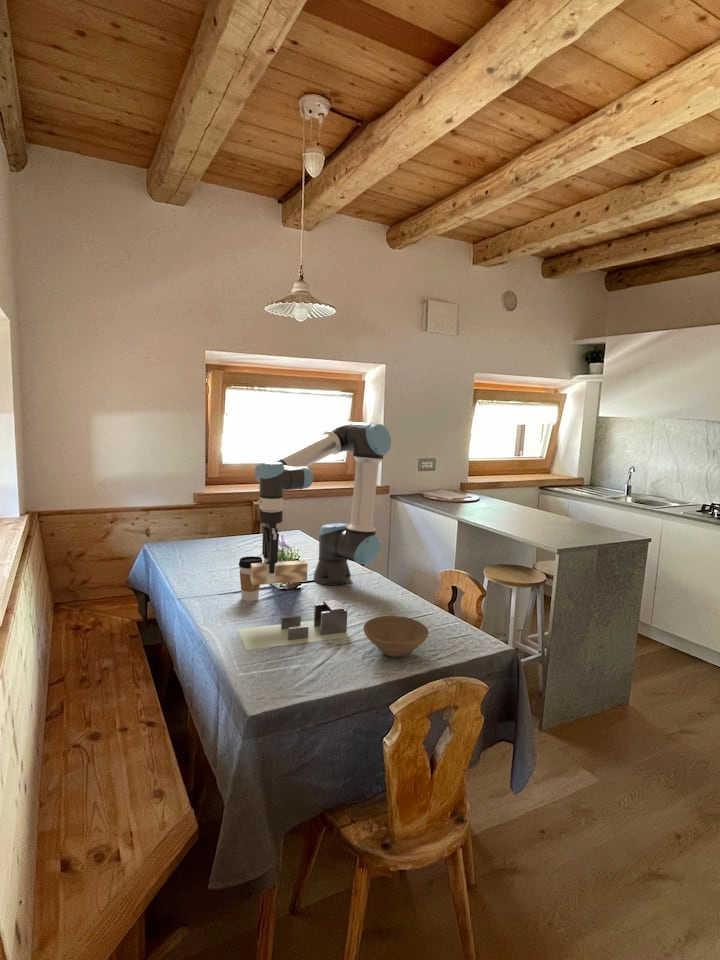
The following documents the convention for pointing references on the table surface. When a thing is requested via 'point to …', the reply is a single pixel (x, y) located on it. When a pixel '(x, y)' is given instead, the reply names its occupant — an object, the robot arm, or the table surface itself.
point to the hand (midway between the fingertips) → (269, 579)
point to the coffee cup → (248, 578)
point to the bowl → (395, 634)
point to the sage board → (281, 636)
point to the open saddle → (294, 627)
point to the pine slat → (280, 572)
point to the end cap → (330, 617)
